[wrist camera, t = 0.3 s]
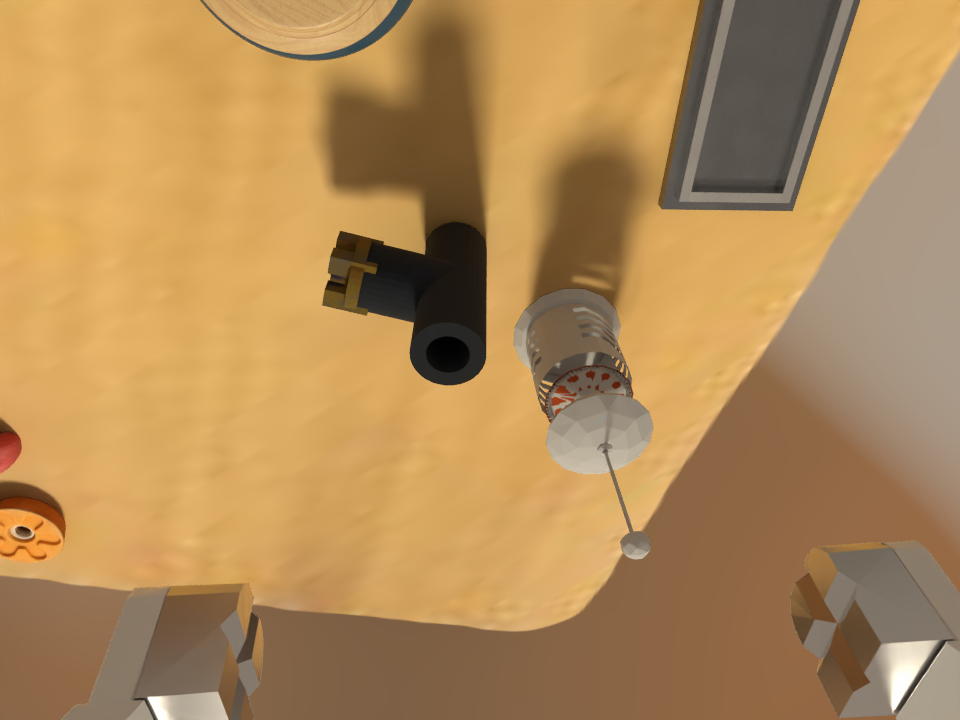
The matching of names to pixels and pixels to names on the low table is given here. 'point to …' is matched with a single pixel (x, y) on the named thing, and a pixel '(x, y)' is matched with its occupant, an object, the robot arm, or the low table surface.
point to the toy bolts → (26, 518)
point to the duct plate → (753, 102)
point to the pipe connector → (421, 295)
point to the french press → (585, 389)
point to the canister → (309, 24)
